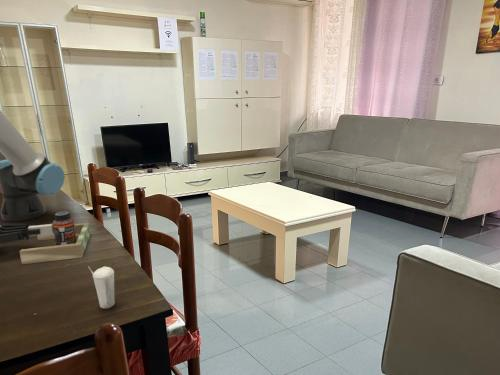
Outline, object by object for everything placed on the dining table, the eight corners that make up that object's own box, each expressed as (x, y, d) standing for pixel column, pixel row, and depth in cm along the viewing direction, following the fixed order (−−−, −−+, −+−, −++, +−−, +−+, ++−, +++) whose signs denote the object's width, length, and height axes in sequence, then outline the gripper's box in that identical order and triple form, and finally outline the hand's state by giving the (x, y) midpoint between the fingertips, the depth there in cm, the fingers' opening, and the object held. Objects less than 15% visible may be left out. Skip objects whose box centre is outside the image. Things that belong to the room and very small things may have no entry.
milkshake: (96, 299, 87) (91, 261, 84) (120, 298, 87) (115, 260, 84) (90, 311, 82) (84, 271, 80) (114, 309, 83) (109, 270, 80)
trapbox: (39, 239, 122) (37, 227, 121) (90, 233, 126) (89, 222, 125) (21, 264, 105) (19, 251, 103) (82, 257, 109) (80, 244, 108)
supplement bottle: (69, 251, 113) (63, 216, 110) (52, 250, 114) (46, 215, 111) (81, 243, 118) (76, 210, 115) (64, 242, 119) (59, 209, 116)
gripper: (-24, 240, 114) (59, 232, 120) (-44, 259, 102) (49, 248, 108) (-29, 218, 112) (55, 210, 118) (-50, 234, 100) (45, 224, 106)
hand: (52, 228), depth 113 cm, fingers closed
